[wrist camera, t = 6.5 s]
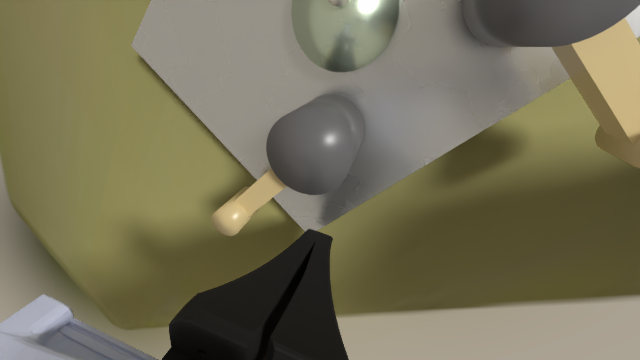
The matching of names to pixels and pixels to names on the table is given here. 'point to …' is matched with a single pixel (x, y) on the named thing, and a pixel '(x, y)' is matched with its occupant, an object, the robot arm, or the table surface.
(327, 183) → the knob
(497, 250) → the table surface
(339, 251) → the table surface
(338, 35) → the tribrach plate
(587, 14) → the knob
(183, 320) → the robot arm
